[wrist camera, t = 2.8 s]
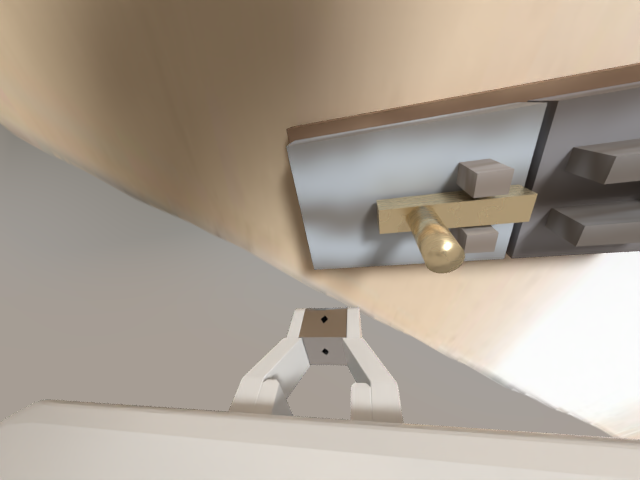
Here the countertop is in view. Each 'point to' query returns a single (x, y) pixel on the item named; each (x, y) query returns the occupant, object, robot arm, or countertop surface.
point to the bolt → (450, 220)
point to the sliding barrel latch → (479, 170)
